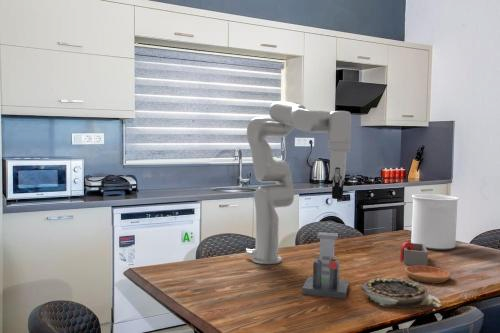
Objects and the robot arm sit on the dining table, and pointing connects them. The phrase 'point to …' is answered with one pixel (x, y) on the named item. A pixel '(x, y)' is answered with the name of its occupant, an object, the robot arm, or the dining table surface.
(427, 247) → the bucket
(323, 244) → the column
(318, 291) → the stand
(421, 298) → the pie
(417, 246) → the bracket rest
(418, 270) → the saucer
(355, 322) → the dining table surface
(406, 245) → the bracket
